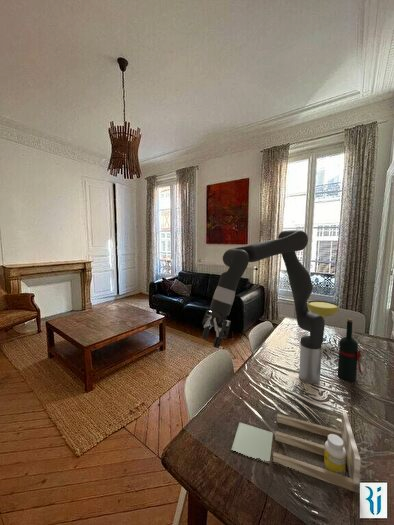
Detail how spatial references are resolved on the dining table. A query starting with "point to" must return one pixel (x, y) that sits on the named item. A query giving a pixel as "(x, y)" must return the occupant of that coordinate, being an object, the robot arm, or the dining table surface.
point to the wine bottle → (348, 356)
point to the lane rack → (321, 451)
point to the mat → (253, 442)
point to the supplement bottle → (335, 455)
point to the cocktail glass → (323, 308)
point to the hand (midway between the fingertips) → (209, 342)
